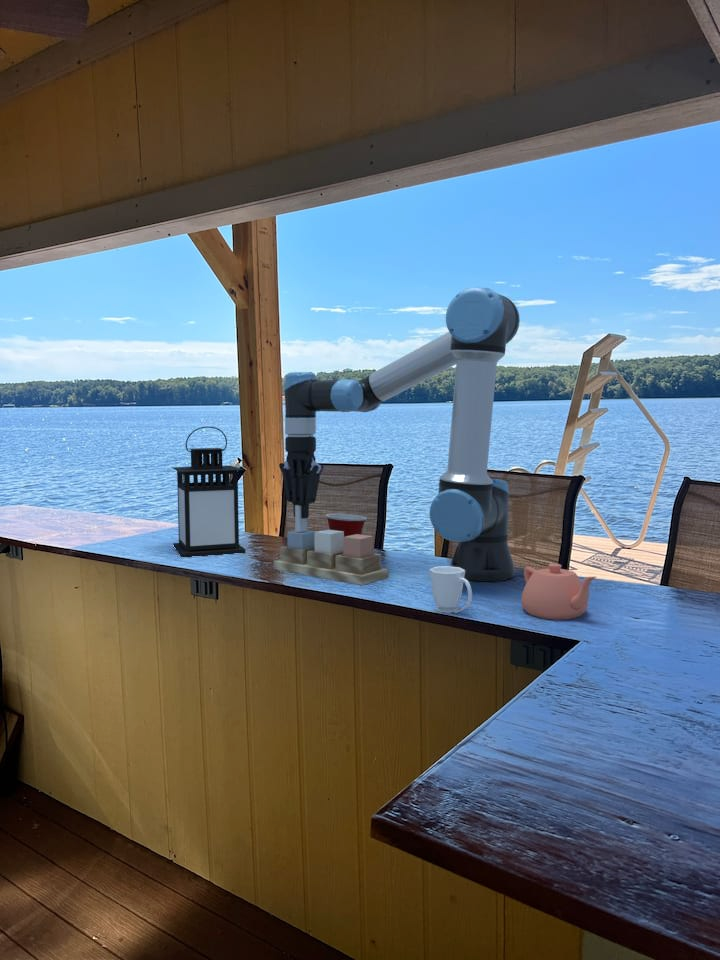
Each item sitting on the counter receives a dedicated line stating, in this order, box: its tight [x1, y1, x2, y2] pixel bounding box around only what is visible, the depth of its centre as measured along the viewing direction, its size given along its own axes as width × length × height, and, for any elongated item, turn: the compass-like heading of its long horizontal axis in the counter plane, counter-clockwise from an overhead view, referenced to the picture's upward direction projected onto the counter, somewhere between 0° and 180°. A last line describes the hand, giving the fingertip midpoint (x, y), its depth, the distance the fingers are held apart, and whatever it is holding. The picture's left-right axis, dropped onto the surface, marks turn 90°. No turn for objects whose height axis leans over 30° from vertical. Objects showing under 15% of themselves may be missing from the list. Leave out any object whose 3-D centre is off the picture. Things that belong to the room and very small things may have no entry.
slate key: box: [286, 530, 315, 550], centre depth 183 cm, size 5×5×6 cm
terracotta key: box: [343, 534, 375, 559], centre depth 172 cm, size 5×5×6 cm
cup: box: [428, 565, 473, 614], centre depth 143 cm, size 7×10×8 cm
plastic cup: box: [325, 513, 368, 537], centre depth 193 cm, size 11×11×12 cm
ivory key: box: [314, 529, 344, 554], centre depth 177 cm, size 5×5×6 cm
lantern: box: [170, 426, 246, 558], centre depth 207 cm, size 17×17×35 cm
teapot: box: [520, 563, 597, 621], centre depth 141 cm, size 12×18×10 cm
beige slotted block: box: [272, 545, 389, 586], centre depth 178 cm, size 28×10×6 cm, turn 52°
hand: (301, 530), depth 183 cm, fingers closed
